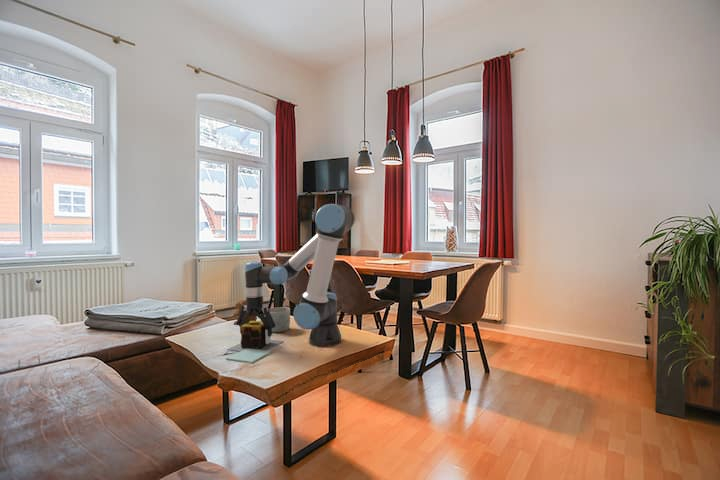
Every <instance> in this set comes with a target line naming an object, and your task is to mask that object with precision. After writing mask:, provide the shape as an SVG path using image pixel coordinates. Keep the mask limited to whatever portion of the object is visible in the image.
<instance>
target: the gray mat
mask: <svg viewBox="0 0 720 480" xmlns="http://www.w3.org/2000/svg"><path fill="white" fill-rule="evenodd" d="M284 342H285V341H284V340H277V339H271V343H269V344H267V345H265V346H264V347H263V348H261V349H259V348H250V349H258V350H266V351H270V350H271V349H272V348H274V347H277V346H279V345H280V344H282V343H284ZM244 349H247V348H242V347H241V342H240V343H238V344H235V345H234V346H231V347H229V348H227V349H226V351H232V352H237V353H238V352H240V351H242V350H244Z"/></svg>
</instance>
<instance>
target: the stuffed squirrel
mask: <svg viewBox="0 0 720 480" xmlns="http://www.w3.org/2000/svg"><path fill="white" fill-rule="evenodd" d="M244 305H246V299H244V300H243V299H241V300H239V301H237V302H236V304H235V306H234V308H235V309H236V311H235V312H234V313H233V314H232V316H233V317H239V315H240V312H241V306H244ZM246 306H247V305H246ZM247 312H248V311H247V310H246V313H245V316H246V314H247ZM245 316H244V317H245ZM243 319H244V318H243ZM257 319H258V317H255V316H251V317H250V318H249V320H248V321H247V322H246V323H248V322H250V321H258V320H257ZM237 320H238V318H237V319H236V320H235V321H234V322H233V325H236V322H237ZM236 326H237V325H236Z"/></svg>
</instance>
